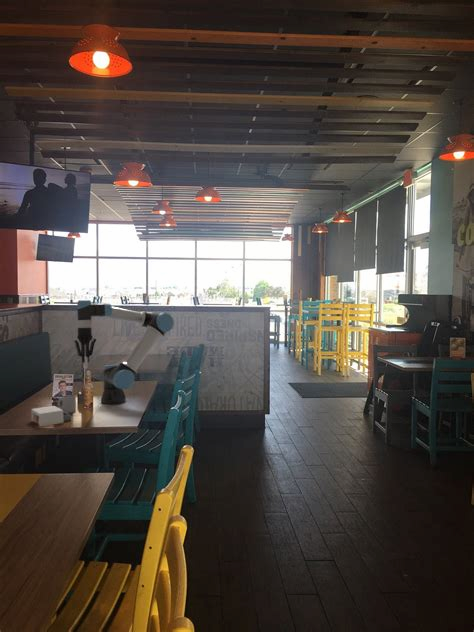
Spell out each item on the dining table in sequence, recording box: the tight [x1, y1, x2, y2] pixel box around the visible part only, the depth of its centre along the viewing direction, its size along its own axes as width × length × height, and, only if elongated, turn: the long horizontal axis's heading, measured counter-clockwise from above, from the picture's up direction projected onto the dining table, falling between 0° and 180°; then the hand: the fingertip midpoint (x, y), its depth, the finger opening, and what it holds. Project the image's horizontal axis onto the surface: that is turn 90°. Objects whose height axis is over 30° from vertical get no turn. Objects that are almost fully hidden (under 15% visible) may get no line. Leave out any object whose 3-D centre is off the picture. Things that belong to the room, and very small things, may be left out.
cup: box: [57, 394, 77, 414], centre depth 296 cm, size 7×10×9 cm
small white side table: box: [31, 405, 65, 427], centre depth 274 cm, size 12×14×6 cm
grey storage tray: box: [38, 412, 72, 422], centre depth 276 cm, size 14×10×3 cm
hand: (85, 368), depth 298 cm, fingers closed
